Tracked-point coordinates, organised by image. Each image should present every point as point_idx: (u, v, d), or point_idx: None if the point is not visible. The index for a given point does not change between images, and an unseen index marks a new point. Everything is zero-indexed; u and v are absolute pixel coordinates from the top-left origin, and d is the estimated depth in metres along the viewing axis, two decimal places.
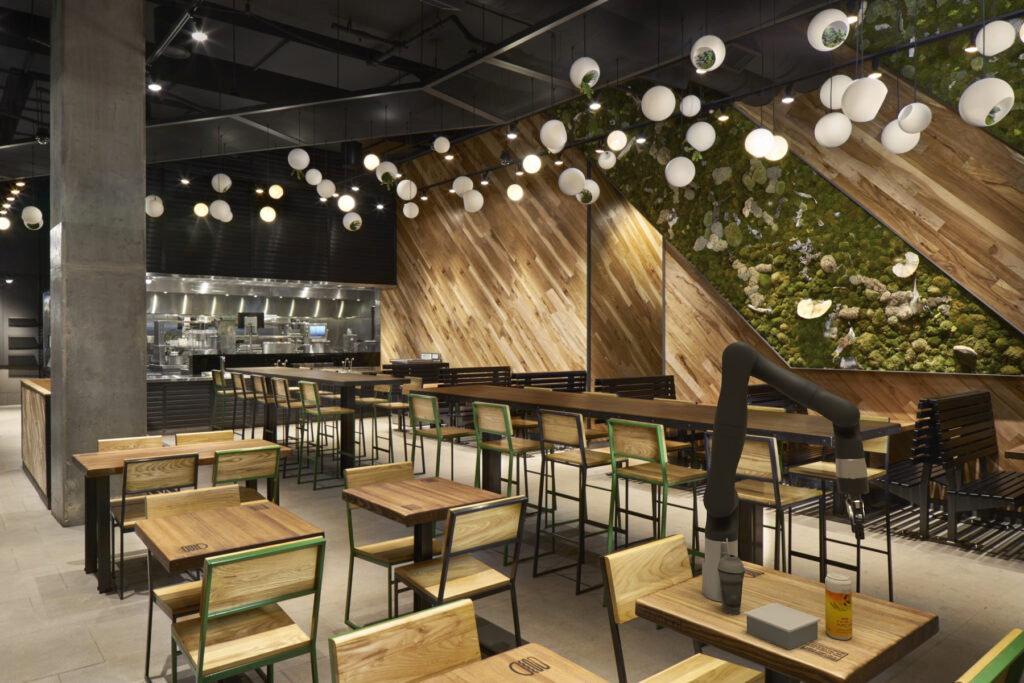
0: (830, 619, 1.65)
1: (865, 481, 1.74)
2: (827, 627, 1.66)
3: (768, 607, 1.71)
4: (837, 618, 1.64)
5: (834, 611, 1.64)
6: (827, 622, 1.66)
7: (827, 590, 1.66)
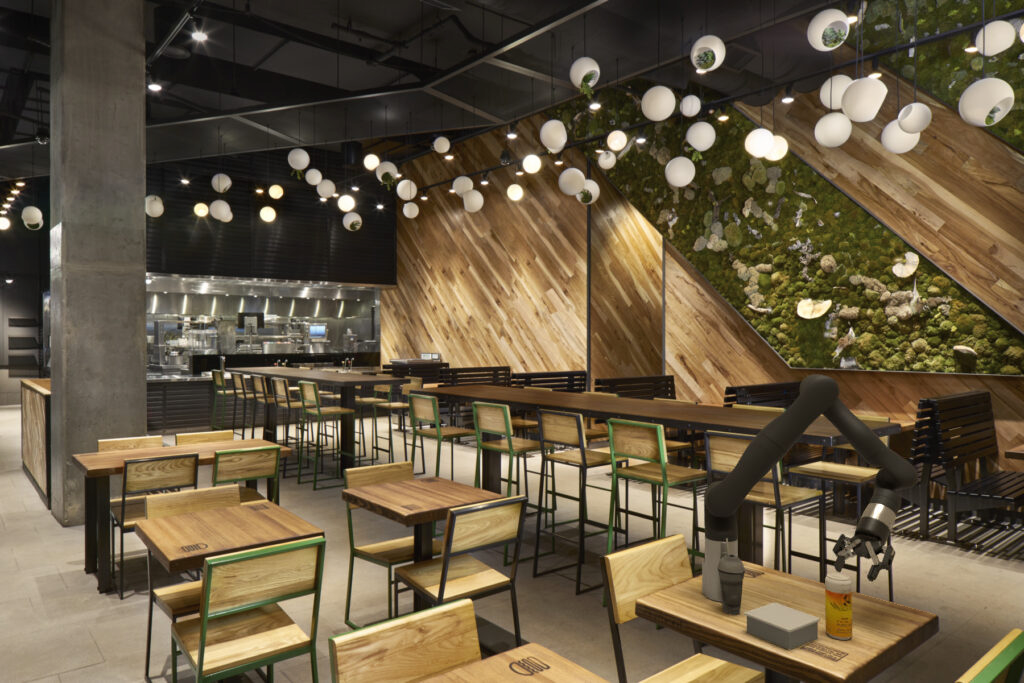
0: (830, 619, 1.65)
1: None
2: (827, 627, 1.66)
3: (768, 607, 1.71)
4: (837, 618, 1.64)
5: (834, 611, 1.64)
6: (827, 622, 1.66)
7: (827, 590, 1.66)
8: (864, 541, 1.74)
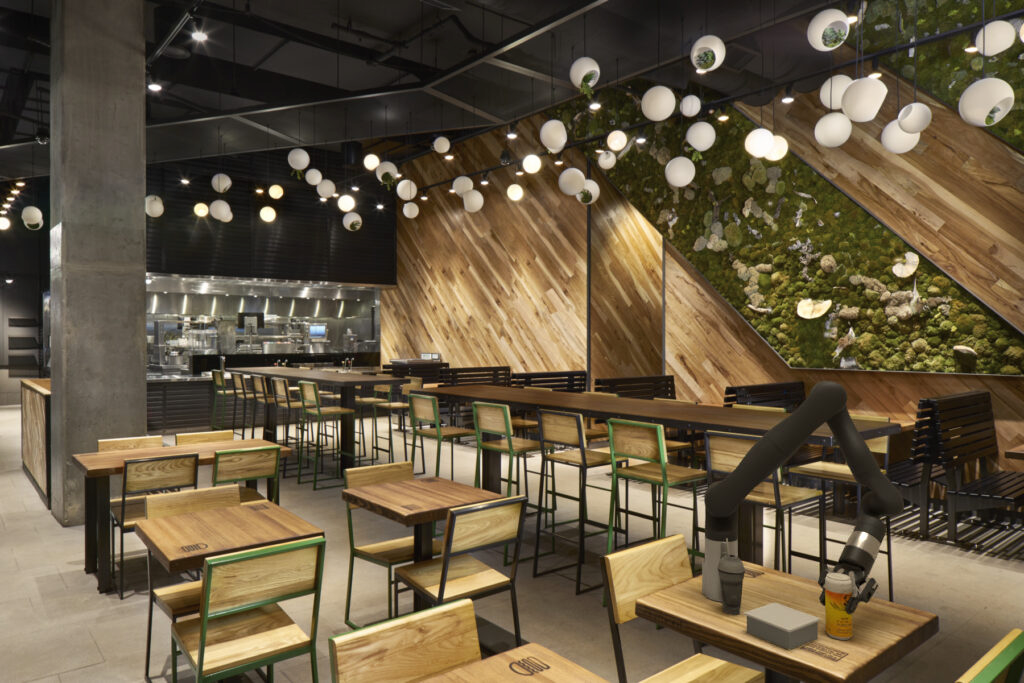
0: (830, 619, 1.65)
1: None
2: (827, 627, 1.66)
3: (768, 607, 1.71)
4: (837, 618, 1.64)
5: (834, 611, 1.64)
6: (827, 622, 1.66)
7: (827, 590, 1.66)
8: (847, 571, 1.69)
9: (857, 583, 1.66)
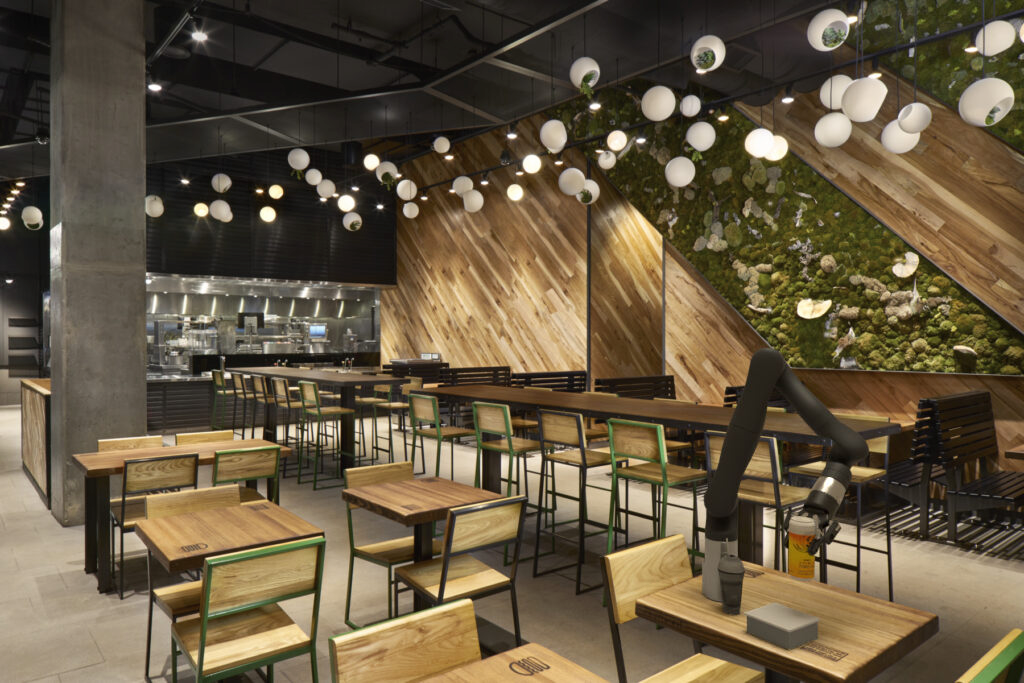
0: (793, 561, 1.65)
1: None
2: (790, 569, 1.66)
3: (768, 607, 1.71)
4: (799, 559, 1.64)
5: (796, 553, 1.65)
6: (790, 564, 1.66)
7: (791, 532, 1.66)
8: (812, 515, 1.70)
9: (820, 526, 1.66)
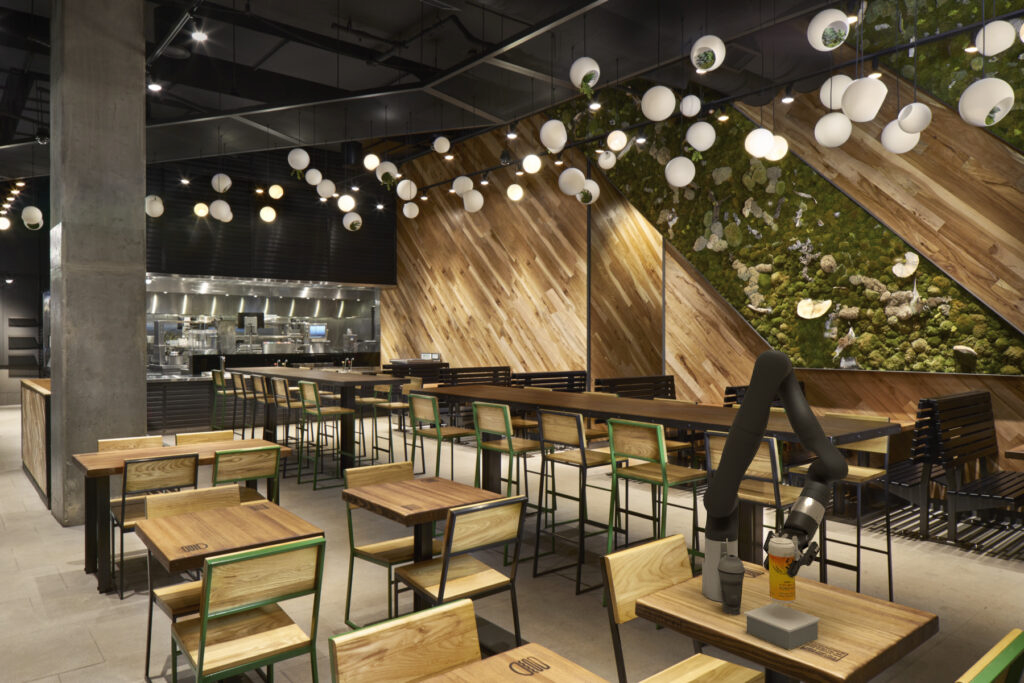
0: (773, 583, 1.65)
1: None
2: (771, 591, 1.66)
3: (768, 607, 1.71)
4: (779, 581, 1.64)
5: (776, 575, 1.64)
6: (770, 586, 1.66)
7: (770, 554, 1.66)
8: (791, 535, 1.69)
9: (800, 547, 1.66)
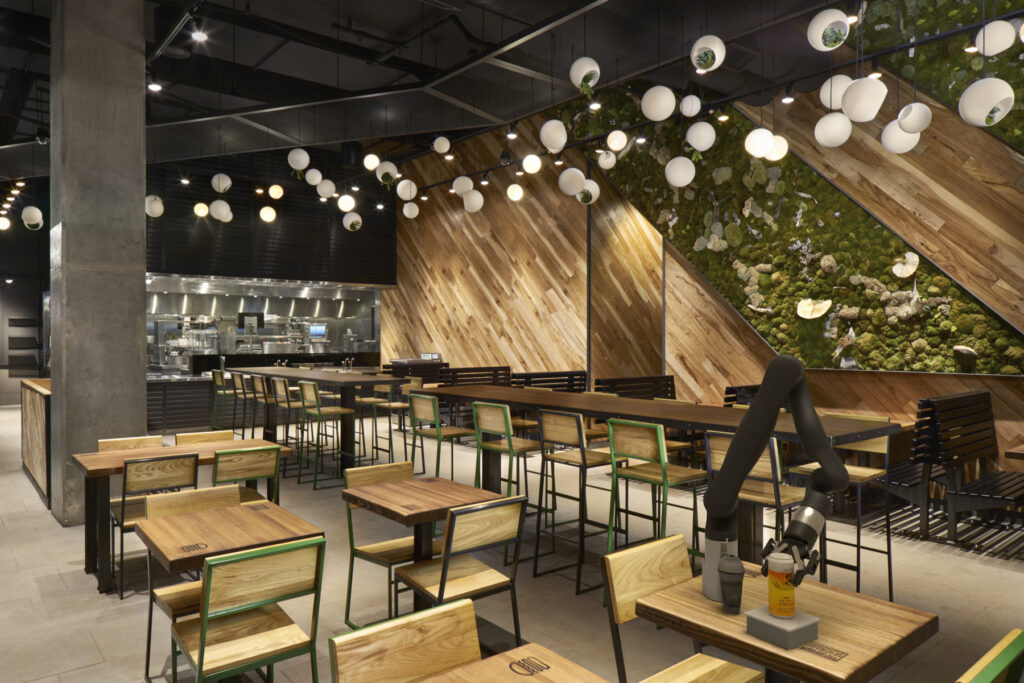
0: (772, 598, 1.65)
1: None
2: (770, 606, 1.66)
3: (768, 607, 1.71)
4: (779, 597, 1.64)
5: (776, 591, 1.64)
6: (770, 602, 1.66)
7: (770, 570, 1.66)
8: (791, 545, 1.69)
9: (800, 557, 1.66)
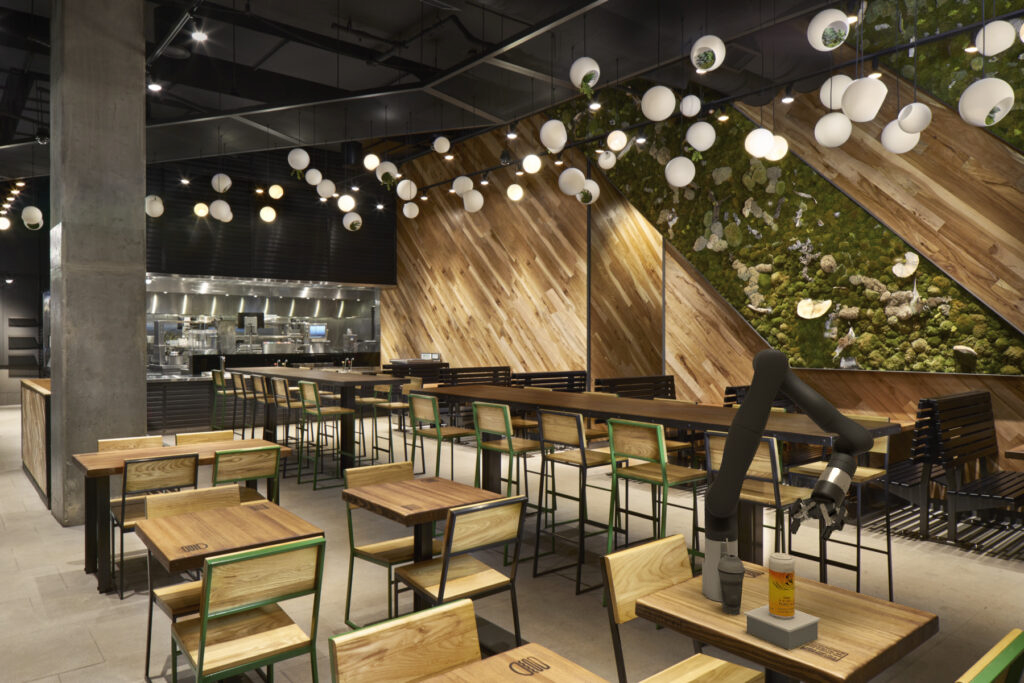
0: (772, 598, 1.65)
1: None
2: (770, 606, 1.66)
3: (768, 607, 1.71)
4: (779, 597, 1.64)
5: (776, 591, 1.64)
6: (770, 601, 1.66)
7: (770, 570, 1.66)
8: (819, 504, 1.76)
9: None
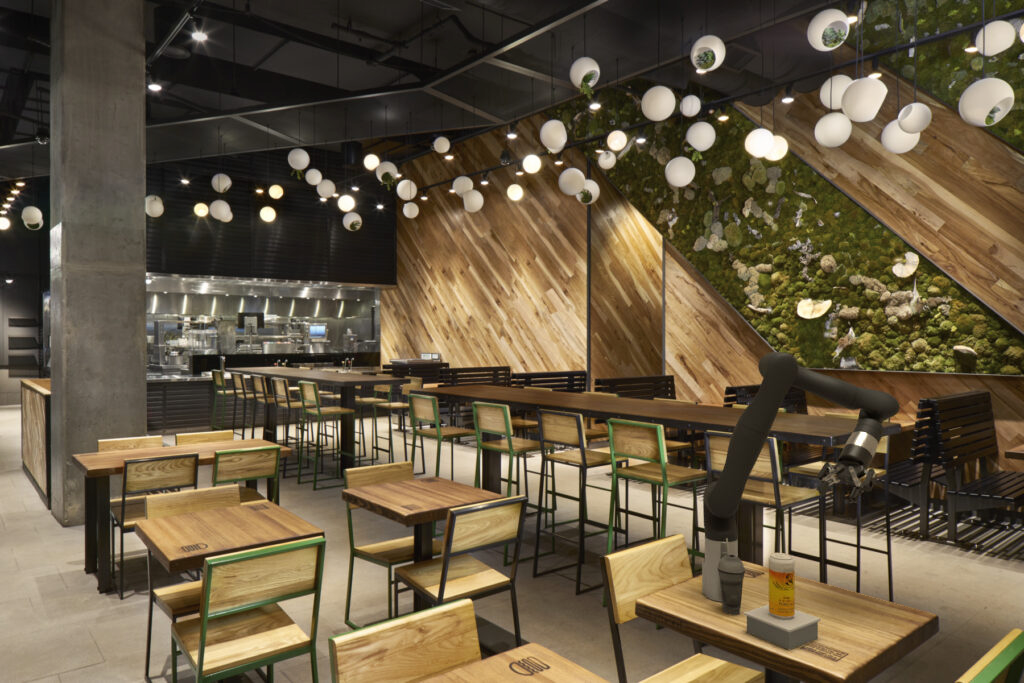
0: (772, 598, 1.65)
1: None
2: (770, 606, 1.66)
3: (768, 607, 1.71)
4: (779, 597, 1.64)
5: (776, 591, 1.64)
6: (770, 601, 1.66)
7: (770, 570, 1.66)
8: (847, 466, 1.81)
9: None
